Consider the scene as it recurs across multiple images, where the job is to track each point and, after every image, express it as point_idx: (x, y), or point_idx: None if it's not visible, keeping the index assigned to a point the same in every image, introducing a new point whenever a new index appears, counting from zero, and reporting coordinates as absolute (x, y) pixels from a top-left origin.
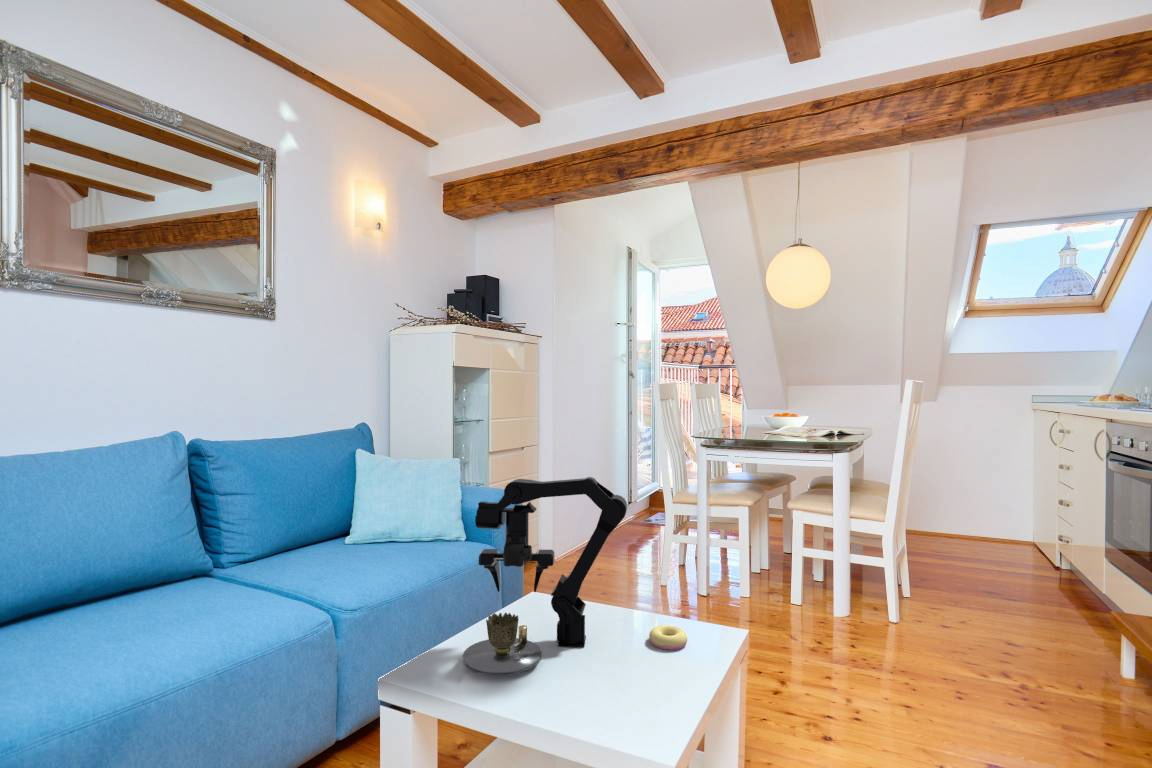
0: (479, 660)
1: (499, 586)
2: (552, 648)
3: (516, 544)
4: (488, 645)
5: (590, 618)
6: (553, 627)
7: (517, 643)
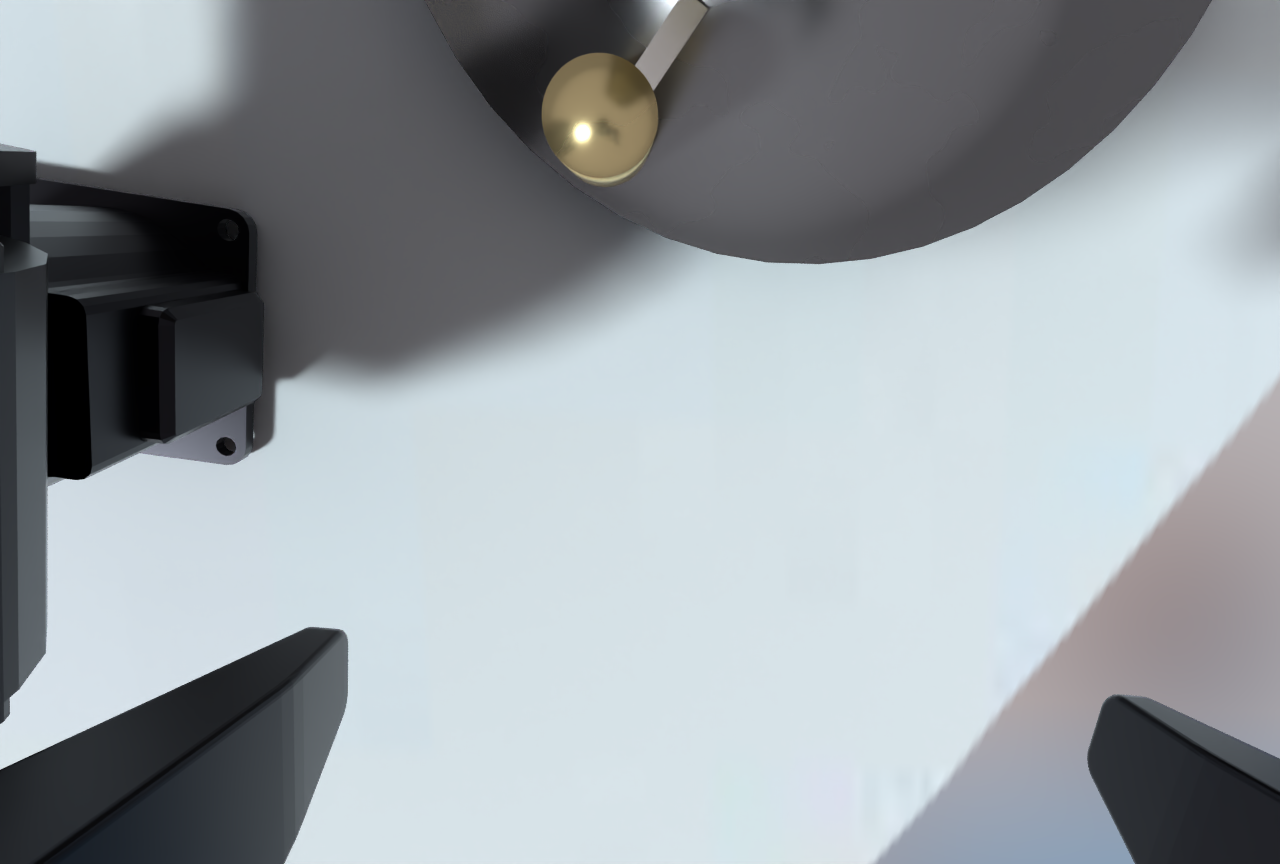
0: None
1: (1182, 773)
2: (313, 187)
3: None
4: (984, 48)
5: None
6: None
7: (662, 65)
